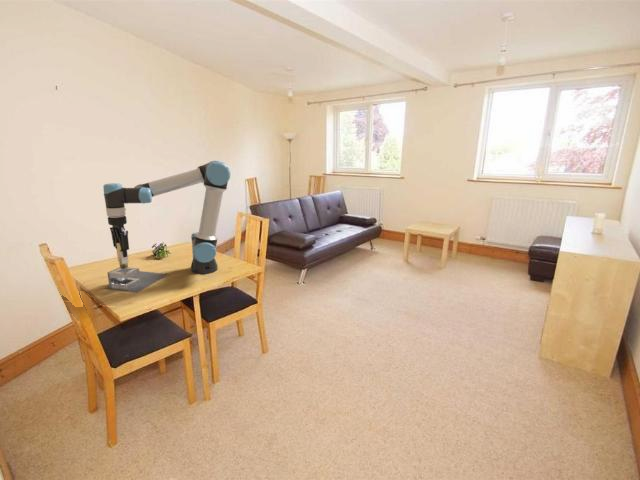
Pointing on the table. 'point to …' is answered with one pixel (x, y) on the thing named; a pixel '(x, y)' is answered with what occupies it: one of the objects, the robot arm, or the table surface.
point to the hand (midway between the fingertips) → (123, 261)
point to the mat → (143, 280)
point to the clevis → (123, 278)
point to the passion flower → (157, 251)
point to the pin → (122, 266)
